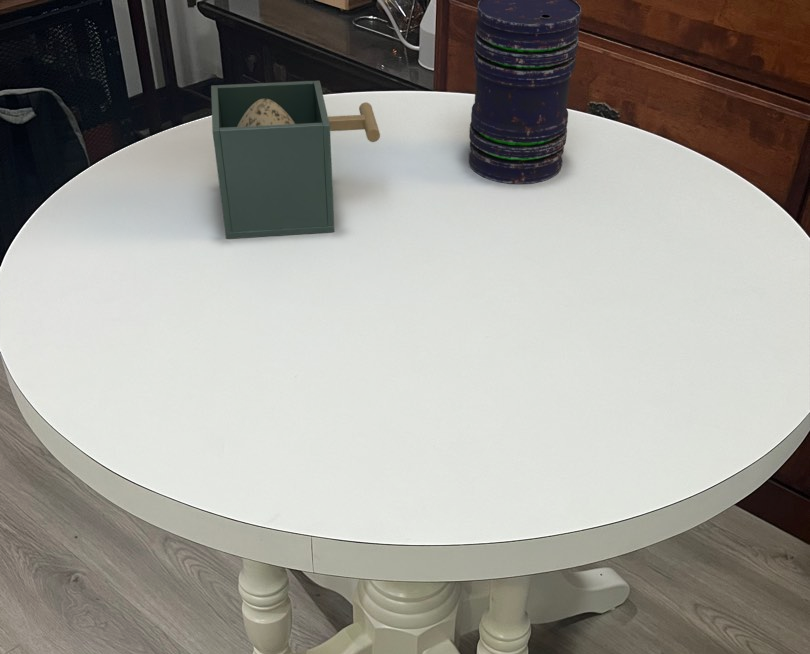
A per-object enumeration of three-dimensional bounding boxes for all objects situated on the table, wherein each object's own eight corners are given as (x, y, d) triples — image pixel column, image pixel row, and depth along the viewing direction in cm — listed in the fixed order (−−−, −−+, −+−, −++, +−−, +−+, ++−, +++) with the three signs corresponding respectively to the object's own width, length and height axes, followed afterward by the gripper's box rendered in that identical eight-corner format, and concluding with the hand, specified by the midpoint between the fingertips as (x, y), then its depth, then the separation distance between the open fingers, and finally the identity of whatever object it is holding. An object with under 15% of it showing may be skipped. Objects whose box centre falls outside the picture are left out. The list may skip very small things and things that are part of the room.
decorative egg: (314, 189, 97) (308, 84, 90) (306, 225, 92) (299, 117, 85) (241, 187, 97) (230, 82, 90) (230, 223, 92) (216, 115, 85)
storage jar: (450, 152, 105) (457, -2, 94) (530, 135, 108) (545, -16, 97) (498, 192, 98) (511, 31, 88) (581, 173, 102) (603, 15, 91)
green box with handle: (212, 130, 84) (383, 122, 86) (211, 85, 91) (368, 78, 93) (226, 239, 91) (383, 229, 93) (223, 189, 98) (370, 180, 100)
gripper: (346, -266, 74) (349, -14, 87) (110, -269, 72) (146, -11, 84) (357, -251, 69) (358, 14, 81) (103, -255, 67) (143, 18, 79)
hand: (250, 1), depth 83 cm, fingers open, 9 cm apart
